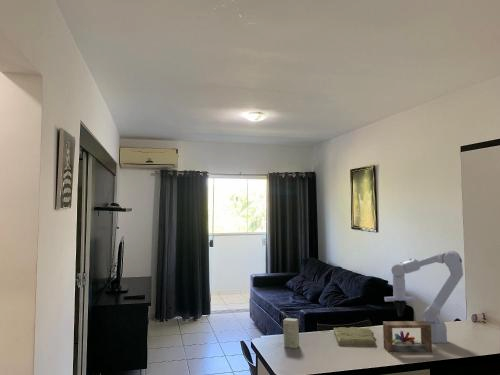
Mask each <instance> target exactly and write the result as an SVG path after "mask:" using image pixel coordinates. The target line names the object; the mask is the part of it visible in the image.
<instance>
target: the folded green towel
mask: <svg viewBox="0 0 500 375" xmlns="http://www.w3.org/2000/svg"><path fill="white" fill-rule="evenodd" d="M333 333H334V336H335V339H336V342H337V345H338V346H342V347H344V346H345V347H346V346H347V347H348V346H349V347H376V346H377V342H376V341H375V338H374V336H375V332H374V331H373V330H372V329H370V328H368V327H357V326H356V327H355V326H350V327H345V326H342V327H341V326H340V327H333Z"/></svg>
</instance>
